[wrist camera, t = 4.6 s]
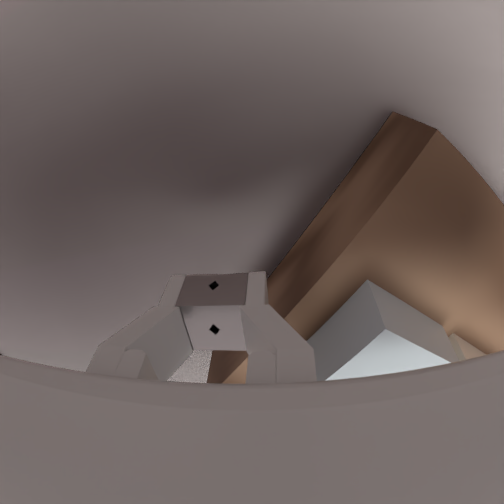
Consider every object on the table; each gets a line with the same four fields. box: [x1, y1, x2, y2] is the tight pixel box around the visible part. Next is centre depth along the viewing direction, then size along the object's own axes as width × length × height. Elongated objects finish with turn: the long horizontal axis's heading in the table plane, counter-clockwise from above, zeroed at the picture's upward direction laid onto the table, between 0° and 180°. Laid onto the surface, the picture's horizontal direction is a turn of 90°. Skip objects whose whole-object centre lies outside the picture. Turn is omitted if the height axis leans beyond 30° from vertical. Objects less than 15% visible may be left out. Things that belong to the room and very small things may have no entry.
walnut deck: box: [207, 112, 504, 384], centre depth 15 cm, size 16×14×4 cm
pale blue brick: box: [306, 280, 459, 381], centre depth 12 cm, size 5×5×2 cm
